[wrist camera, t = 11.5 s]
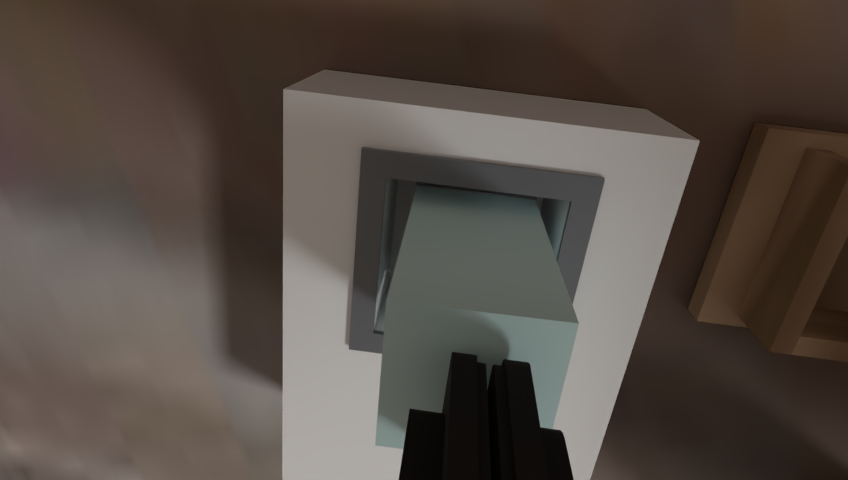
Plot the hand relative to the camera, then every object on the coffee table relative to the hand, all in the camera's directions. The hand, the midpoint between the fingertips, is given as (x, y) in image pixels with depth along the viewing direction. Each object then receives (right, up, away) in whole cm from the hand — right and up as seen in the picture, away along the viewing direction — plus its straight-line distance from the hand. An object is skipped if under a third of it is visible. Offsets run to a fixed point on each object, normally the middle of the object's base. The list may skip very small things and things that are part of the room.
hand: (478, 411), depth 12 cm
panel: (0, +2, +12) cm, 12 cm away
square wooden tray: (+15, +4, +10) cm, 19 cm away
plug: (+1, +4, +9) cm, 10 cm away
